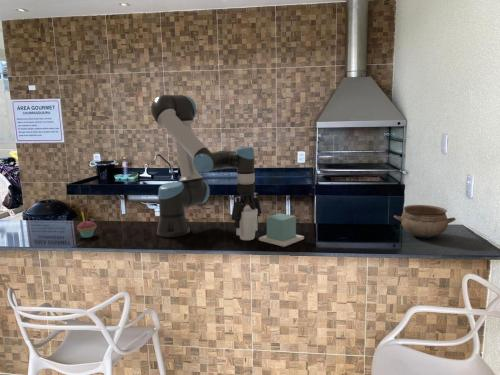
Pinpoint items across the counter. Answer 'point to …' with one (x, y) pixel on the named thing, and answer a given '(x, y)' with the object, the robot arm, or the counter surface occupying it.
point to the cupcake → (86, 228)
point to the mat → (281, 243)
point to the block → (281, 226)
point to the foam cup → (248, 223)
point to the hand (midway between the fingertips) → (247, 232)
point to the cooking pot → (424, 220)
